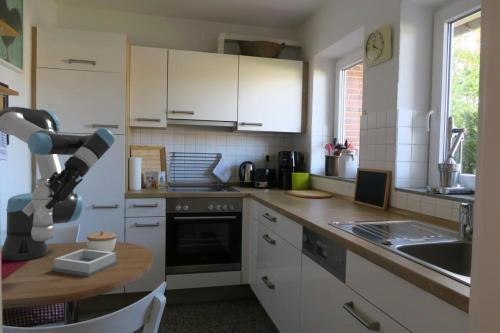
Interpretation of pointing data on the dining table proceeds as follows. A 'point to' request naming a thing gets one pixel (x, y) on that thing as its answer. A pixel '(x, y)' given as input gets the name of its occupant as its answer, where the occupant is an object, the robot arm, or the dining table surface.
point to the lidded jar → (101, 241)
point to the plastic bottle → (44, 226)
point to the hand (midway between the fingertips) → (31, 214)
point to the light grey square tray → (84, 262)
